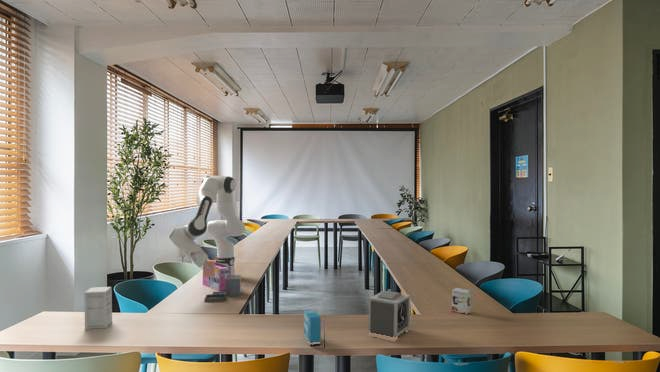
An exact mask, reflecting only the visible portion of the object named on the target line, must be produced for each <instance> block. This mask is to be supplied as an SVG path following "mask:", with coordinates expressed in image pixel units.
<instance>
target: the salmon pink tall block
mask: <svg viewBox="0 0 660 372" xmlns="http://www.w3.org/2000/svg"><path fill="white" fill-rule="evenodd" d="M215 261H216V259H207V260H206V261H205V262H206V264H208V265H209V266H210V269H209V270H208V269H207V268H205V267H204V266H203V265H202V278H203V277H214V276H215Z"/></svg>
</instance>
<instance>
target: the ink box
mask: <svg viewBox="0 0 660 372" xmlns="http://www.w3.org/2000/svg"><path fill="white" fill-rule="evenodd" d="M471 297H472V291H471V289H466V288H459V287H455V288H453V289H452V291H451V311H452V310H456V311H461V312H469V311H470V312H471V305H472V302H471V300H472V298H471Z"/></svg>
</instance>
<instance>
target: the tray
mask: <svg viewBox="0 0 660 372" xmlns="http://www.w3.org/2000/svg"><path fill="white" fill-rule="evenodd" d="M226 300H227V296H226V293H224V294H213V293H211V294H206V295H205V297H204V303H220V302H226Z"/></svg>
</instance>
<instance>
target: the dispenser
mask: <svg viewBox="0 0 660 372" xmlns="http://www.w3.org/2000/svg"><path fill="white" fill-rule="evenodd" d="M225 279H226V290H224V291H212V294H220V293H221V294H226V297H241V293H242V275H241V274H236V275H227V276H225Z"/></svg>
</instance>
